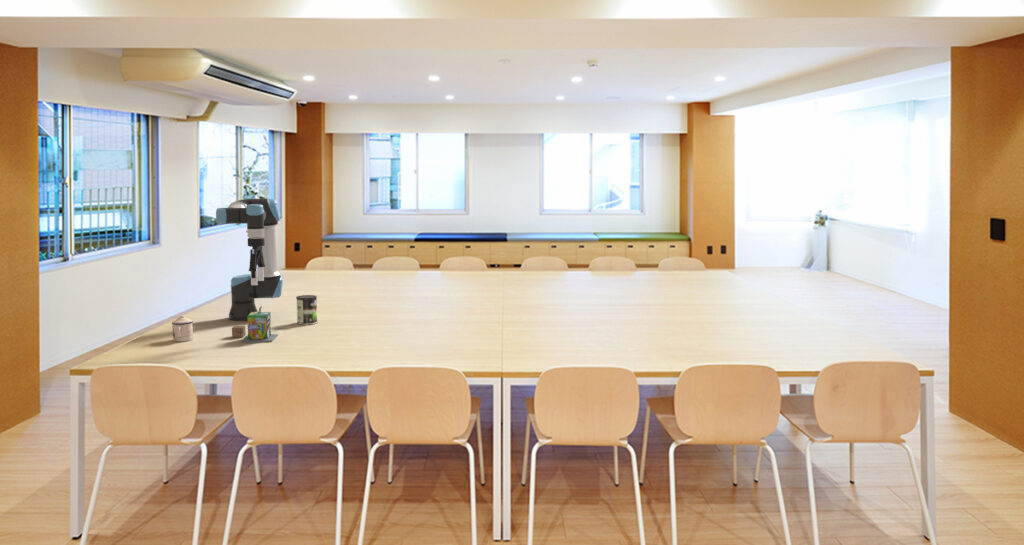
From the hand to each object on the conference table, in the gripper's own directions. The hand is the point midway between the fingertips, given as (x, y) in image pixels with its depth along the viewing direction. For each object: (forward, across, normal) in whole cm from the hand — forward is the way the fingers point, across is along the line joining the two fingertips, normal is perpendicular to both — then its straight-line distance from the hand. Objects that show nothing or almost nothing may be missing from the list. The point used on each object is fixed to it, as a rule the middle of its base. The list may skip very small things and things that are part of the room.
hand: (257, 283), depth 367 cm
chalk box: (+26, +1, 0) cm, 26 cm away
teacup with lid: (+27, +1, -35) cm, 44 cm away
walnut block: (+27, -6, -11) cm, 29 cm away
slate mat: (+27, 0, 0) cm, 27 cm away
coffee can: (+27, -38, +16) cm, 49 cm away
